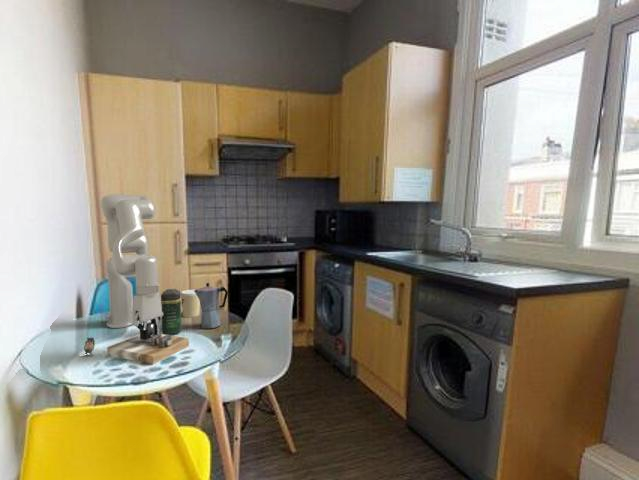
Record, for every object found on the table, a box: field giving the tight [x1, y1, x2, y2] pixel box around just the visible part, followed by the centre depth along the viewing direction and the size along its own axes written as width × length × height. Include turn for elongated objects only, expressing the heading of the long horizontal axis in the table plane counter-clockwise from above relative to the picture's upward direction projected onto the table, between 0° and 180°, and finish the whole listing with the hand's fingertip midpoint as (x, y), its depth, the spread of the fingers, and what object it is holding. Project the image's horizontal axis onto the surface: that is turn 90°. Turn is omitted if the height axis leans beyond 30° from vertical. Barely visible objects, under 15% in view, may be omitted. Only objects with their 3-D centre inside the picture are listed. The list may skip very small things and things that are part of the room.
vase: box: [82, 336, 96, 357], centre depth 135 cm, size 5×5×6 cm
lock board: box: [106, 332, 190, 365], centre depth 138 cm, size 22×18×6 cm
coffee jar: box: [160, 288, 182, 336], centre depth 158 cm, size 10×8×19 cm
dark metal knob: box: [141, 321, 172, 345], centre depth 137 cm, size 13×4×7 cm, turn 69°
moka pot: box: [194, 282, 229, 330], centre depth 166 cm, size 10×15×20 cm, turn 95°
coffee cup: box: [180, 289, 201, 318], centre depth 183 cm, size 9×9×12 cm
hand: (149, 336), depth 138 cm, fingers closed on dark metal knob, 4 cm apart
